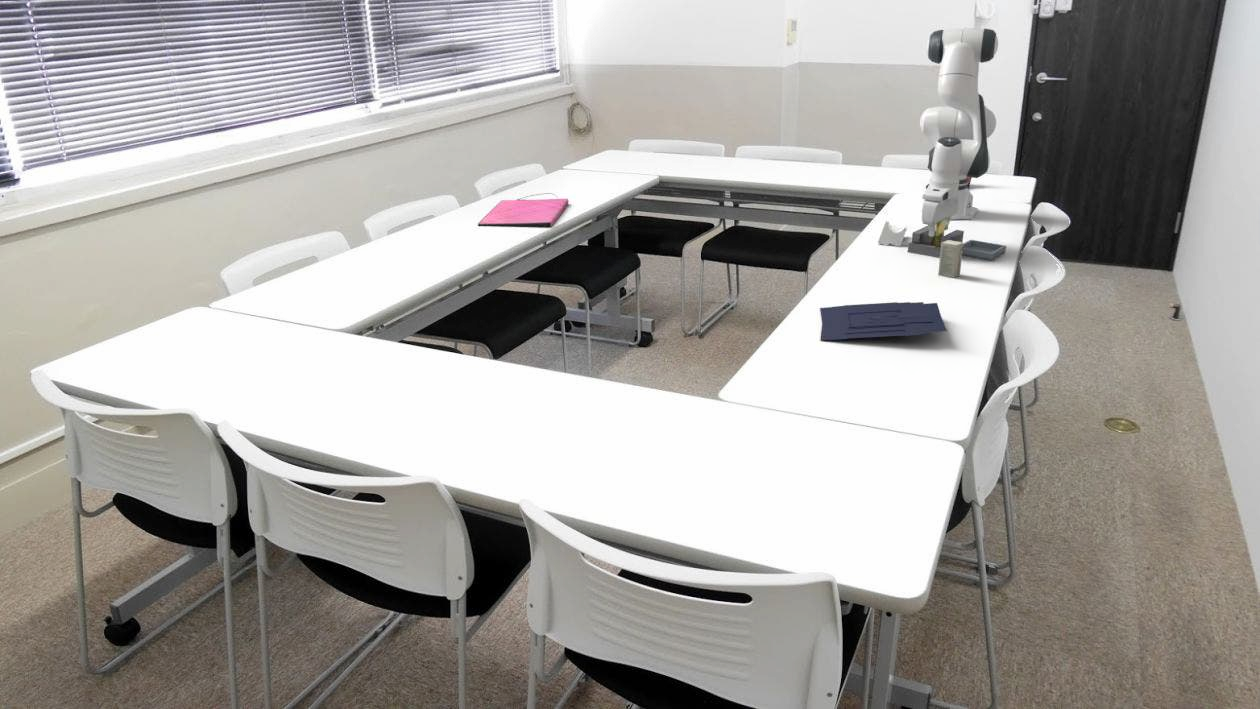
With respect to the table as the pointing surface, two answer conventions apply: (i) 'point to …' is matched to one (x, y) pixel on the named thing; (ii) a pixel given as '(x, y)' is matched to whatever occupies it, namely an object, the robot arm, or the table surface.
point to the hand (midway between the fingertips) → (938, 232)
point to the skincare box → (950, 258)
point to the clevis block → (923, 242)
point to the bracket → (892, 234)
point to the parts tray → (982, 250)
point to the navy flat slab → (880, 320)
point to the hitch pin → (938, 233)
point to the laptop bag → (525, 213)
